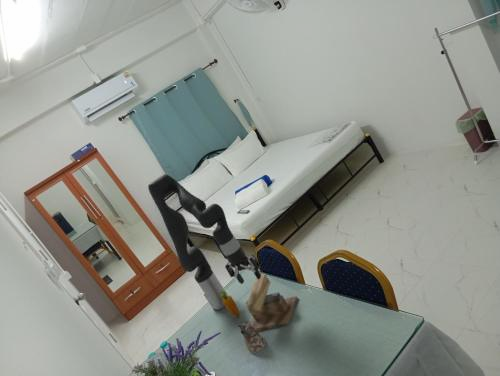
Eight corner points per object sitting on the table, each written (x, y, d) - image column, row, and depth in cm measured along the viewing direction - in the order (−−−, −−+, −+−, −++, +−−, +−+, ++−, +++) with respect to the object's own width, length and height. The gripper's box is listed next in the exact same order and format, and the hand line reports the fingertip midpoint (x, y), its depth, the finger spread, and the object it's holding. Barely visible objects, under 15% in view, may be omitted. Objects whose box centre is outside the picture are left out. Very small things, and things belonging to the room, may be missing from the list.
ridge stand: (248, 333, 190) (236, 315, 187) (259, 307, 203) (249, 290, 201) (288, 324, 180) (276, 305, 178) (298, 298, 193) (287, 280, 191)
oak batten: (252, 314, 181) (246, 305, 180) (262, 285, 199) (257, 276, 197) (261, 311, 179) (255, 302, 178) (270, 282, 197) (264, 273, 196)
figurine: (260, 353, 173) (245, 329, 170) (246, 353, 177) (231, 330, 174) (268, 339, 178) (253, 316, 175) (254, 340, 183) (240, 317, 180)
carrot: (241, 318, 203) (225, 293, 199) (232, 322, 205) (215, 296, 201) (243, 311, 208) (227, 286, 204) (234, 315, 209) (218, 290, 205)
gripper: (248, 239, 182) (267, 270, 186) (221, 248, 189) (240, 278, 193) (242, 249, 176) (262, 282, 180) (214, 258, 183) (234, 289, 187)
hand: (251, 280), depth 187 cm, fingers open, 8 cm apart
